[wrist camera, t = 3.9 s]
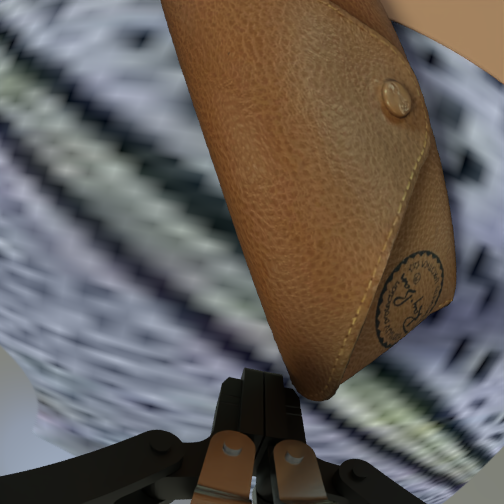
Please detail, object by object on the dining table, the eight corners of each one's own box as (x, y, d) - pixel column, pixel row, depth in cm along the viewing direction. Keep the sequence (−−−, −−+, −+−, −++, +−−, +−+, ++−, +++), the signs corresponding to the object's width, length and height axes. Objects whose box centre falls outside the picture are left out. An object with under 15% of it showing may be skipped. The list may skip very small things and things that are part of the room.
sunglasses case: (465, 303, 11) (469, 416, 6) (331, 316, 16) (272, 408, 10) (338, -62, 7) (269, -144, 2) (219, -4, 12) (115, -37, 6)
